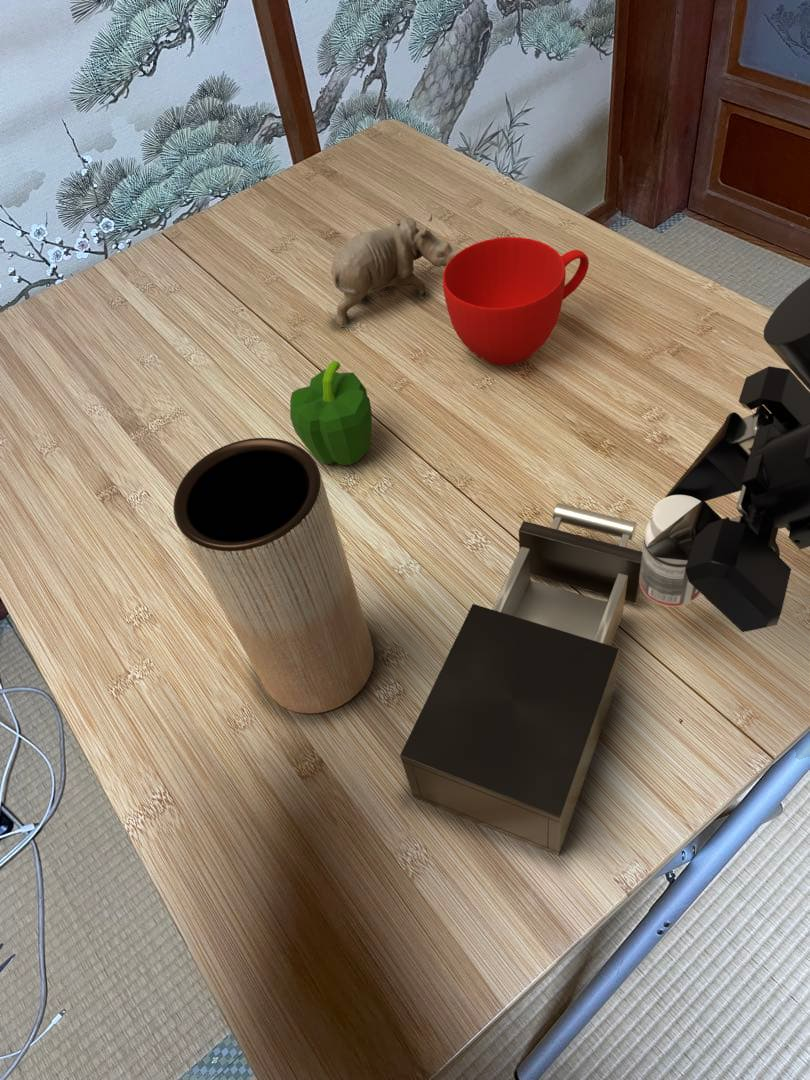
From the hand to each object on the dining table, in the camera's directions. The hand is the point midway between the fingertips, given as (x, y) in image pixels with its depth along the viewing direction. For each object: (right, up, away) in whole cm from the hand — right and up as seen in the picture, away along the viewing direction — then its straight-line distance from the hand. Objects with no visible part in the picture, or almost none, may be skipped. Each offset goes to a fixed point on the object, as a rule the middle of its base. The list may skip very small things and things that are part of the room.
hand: (660, 526), depth 60 cm
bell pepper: (-25, +9, +29) cm, 39 cm away
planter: (-26, -12, +13) cm, 31 cm away
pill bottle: (+2, -4, +5) cm, 7 cm away
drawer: (-5, -7, +11) cm, 14 cm away
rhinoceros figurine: (-20, +29, +44) cm, 57 cm away
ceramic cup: (-5, +22, +36) cm, 42 cm away
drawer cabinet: (-10, -17, +5) cm, 20 cm away
